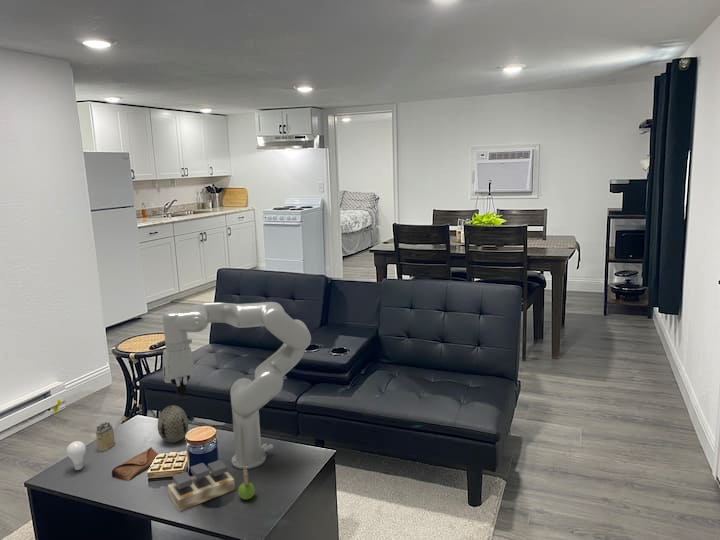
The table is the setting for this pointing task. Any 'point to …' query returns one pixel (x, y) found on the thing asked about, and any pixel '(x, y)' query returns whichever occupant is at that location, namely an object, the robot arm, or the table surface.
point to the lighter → (105, 436)
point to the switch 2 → (217, 468)
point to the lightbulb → (76, 453)
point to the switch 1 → (182, 480)
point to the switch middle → (200, 470)
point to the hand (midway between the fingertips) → (181, 394)
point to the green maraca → (246, 487)
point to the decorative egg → (172, 424)
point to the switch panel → (201, 490)
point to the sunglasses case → (134, 465)
